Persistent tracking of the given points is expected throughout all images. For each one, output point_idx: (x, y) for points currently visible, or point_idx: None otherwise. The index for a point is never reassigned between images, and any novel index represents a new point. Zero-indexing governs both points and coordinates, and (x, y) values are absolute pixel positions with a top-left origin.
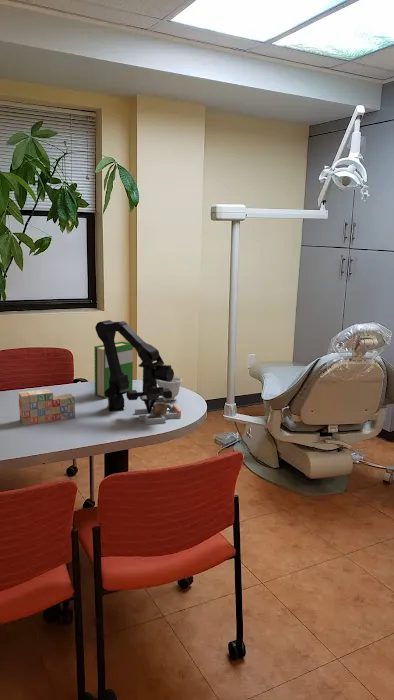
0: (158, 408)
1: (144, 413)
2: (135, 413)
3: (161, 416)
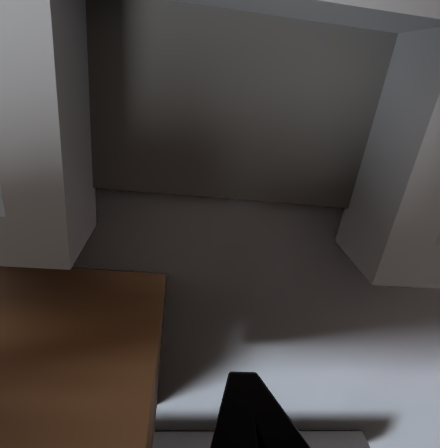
0: (52, 419)
1: None
2: (364, 440)
3: (59, 103)
